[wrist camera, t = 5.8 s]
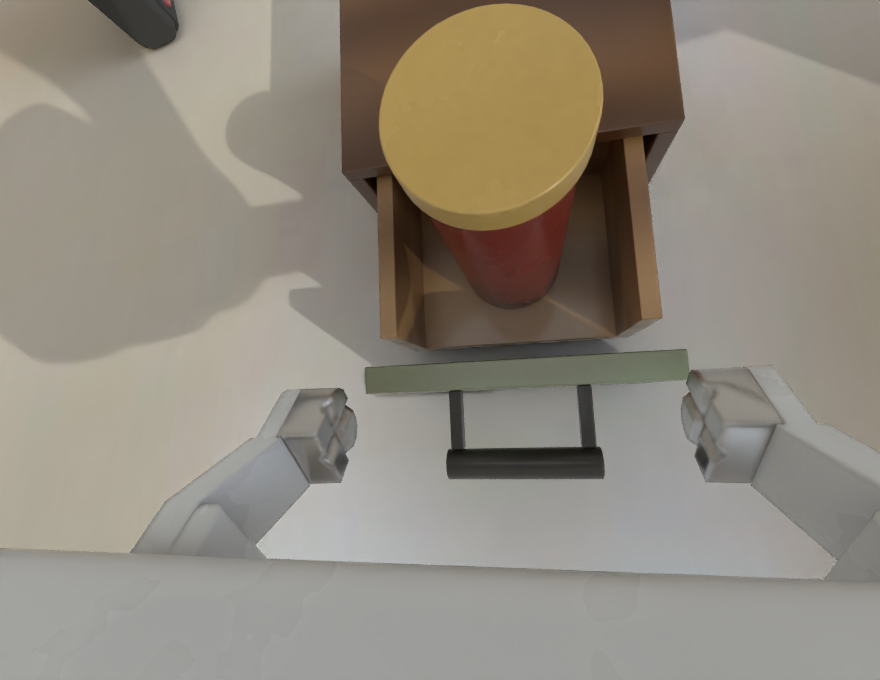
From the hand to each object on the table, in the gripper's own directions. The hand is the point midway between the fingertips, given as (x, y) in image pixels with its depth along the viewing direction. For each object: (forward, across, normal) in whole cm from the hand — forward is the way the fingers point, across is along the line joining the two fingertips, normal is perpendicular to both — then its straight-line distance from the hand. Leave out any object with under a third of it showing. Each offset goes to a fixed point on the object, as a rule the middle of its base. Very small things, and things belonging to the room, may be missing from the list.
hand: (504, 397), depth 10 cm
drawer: (+13, 0, +7) cm, 15 cm away
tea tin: (+15, 0, +4) cm, 15 cm away
